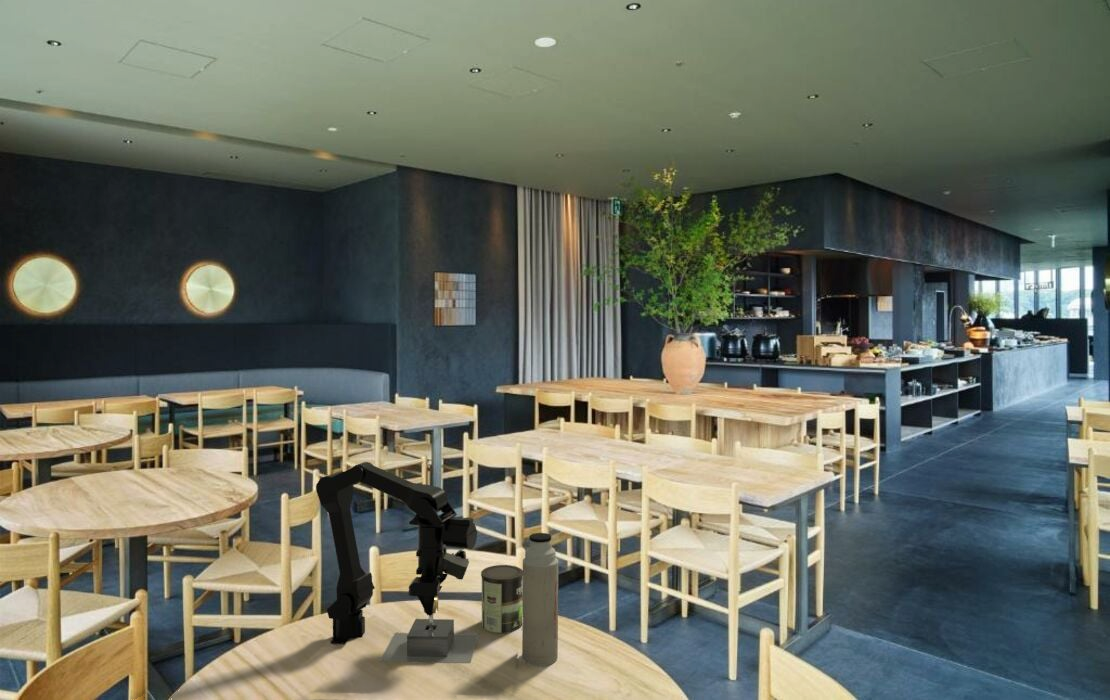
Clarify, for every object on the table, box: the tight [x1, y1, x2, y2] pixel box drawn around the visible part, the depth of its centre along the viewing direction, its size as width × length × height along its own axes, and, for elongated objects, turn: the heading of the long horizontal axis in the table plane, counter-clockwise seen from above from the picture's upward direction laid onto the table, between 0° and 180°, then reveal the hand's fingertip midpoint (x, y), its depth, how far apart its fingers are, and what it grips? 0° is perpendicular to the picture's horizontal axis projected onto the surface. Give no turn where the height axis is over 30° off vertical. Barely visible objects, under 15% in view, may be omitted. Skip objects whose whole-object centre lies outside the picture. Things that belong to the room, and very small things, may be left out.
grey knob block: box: [407, 618, 455, 657], centre depth 164 cm, size 9×9×5 cm
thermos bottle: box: [521, 532, 559, 667], centre depth 161 cm, size 8×8×28 cm
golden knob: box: [423, 596, 439, 630], centre depth 163 cm, size 4×4×8 cm
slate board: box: [379, 632, 479, 664], centre depth 164 cm, size 20×14×1 cm
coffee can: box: [480, 564, 523, 634], centre depth 176 cm, size 10×10×14 cm
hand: (430, 611), depth 163 cm, fingers closed on golden knob, 3 cm apart
